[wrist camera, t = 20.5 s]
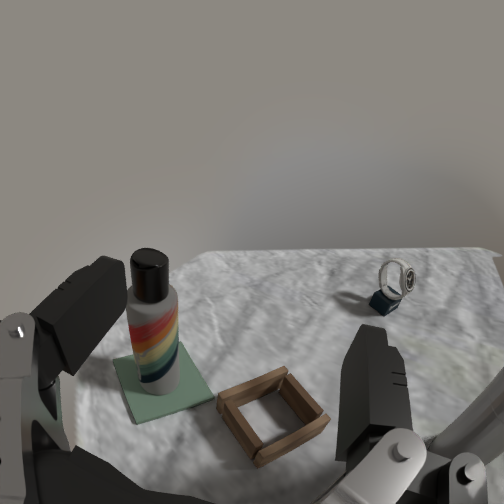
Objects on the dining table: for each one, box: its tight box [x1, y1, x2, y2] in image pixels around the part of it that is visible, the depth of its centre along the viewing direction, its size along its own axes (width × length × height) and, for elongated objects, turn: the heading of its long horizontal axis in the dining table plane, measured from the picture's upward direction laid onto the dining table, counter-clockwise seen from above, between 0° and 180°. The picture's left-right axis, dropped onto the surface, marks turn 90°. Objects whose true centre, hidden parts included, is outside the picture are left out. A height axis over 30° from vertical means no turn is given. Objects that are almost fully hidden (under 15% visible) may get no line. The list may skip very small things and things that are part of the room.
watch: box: [369, 258, 416, 316], centre depth 58 cm, size 6×8×11 cm
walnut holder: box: [216, 366, 331, 469], centre depth 35 cm, size 10×10×4 cm
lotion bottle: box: [126, 248, 180, 395], centre depth 34 cm, size 6×6×20 cm
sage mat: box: [113, 341, 214, 425], centre depth 39 cm, size 11×11×1 cm
